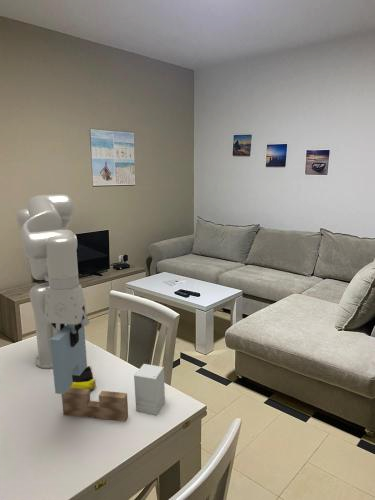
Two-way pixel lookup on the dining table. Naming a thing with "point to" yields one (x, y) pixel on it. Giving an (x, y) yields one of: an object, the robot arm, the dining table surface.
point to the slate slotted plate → (67, 358)
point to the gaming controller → (84, 379)
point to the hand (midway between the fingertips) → (69, 343)
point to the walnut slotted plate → (95, 404)
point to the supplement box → (149, 389)
